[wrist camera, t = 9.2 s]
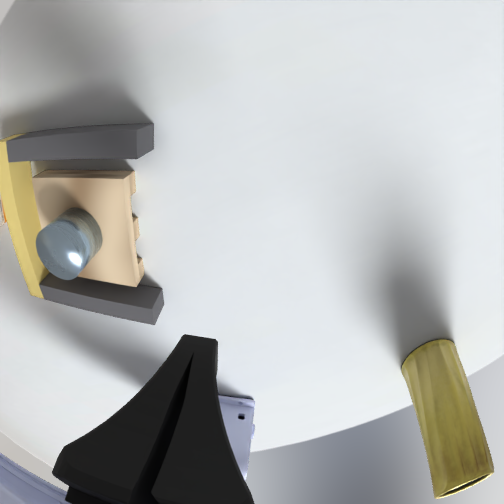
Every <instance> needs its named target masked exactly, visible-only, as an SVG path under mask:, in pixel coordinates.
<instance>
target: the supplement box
mask: <svg viewBox="0 0 504 504" xmlns="http://www.w3.org/2000/svg"><path fill="white" fill-rule="evenodd" d="M6 222H7V220H6V216H5V212H4V207H3V203H2V198H1V193H0V226H2V225H3V224H4V223H6Z"/></svg>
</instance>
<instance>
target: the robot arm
mask: <svg viewBox="0 0 504 504" xmlns="http://www.w3.org/2000/svg"><path fill="white" fill-rule="evenodd" d="M217 362H218V341H217V340H216V339H211V338H204V337H198V336H192V335H186V334H185V335H183V336H182V337H181V339H180V341H179V342H178V344H177V345H176V347H175V348H174V350H173V351H172V353H171V354H170V355H169V357H168V358H167V359H166V361H165V362H164V363H163V364H162V366H161V367H160V368H159V369H158V371H157V372H156V373H155V374H154V376H153V377H152V378H151V379H150V380H149V381H148V382H147V383H146V385H145V386H144V387H143V388H142V389H141V390H140V391H139V392H138V393H137V394H136V395H135V396H134V397H133V398H132V399H131V400H130V401H129V402H128V403H127V404H126V405H125V406H123V407H122V408H121V409H120V410H119V411H117V412H116V413H115V414H114V415H113V416H111V417H110V418H109V419H108V420H106V421H105V422H103V423H102V424H101V425H99V426H98V427H96V428H95V429H93V430H92V431H90V432H89V433H87V434H86V435H84V436H82V437H80V438H79V439H77V440H75V441H73V442H71V443H70V444H68V445H66V446H64V448H63V449H62V451H61V453H60V454H59V456H58V458H57V461H56V463H55V466H54V468H53V471H52V474H53V475H54V476H55V477H56V478H58V479H59V480H61V481H62V482H64V483H65V484H67V485H68V486H69V489H68V492H66V491H64V490H62V489H60V488H58V487H56V486H54V485H52V484H50V483H49V482H47V481H45V480H43V479H41V478H40V477H38V476H36V475H34V474H33V473H31V472H29V471H28V470H26V469H24V468H23V467H21V466H20V465H18V464H16V463H15V462H13V461H11V460H10V459H9V458H7V457H6V456H4V455H3V454H2V453H0V504H254V501H253V498H252V495H251V492H250V490H249V488H248V486H247V484H246V482H245V480H246V476H247V470H248V463H249V455H250V445H251V439H253V436H254V429H255V425H254V424H253V416H254V407H255V401H254V400H251V399H242V398H234V397H227V396H220V395H218V390H217V382H216V375H217Z"/></svg>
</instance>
